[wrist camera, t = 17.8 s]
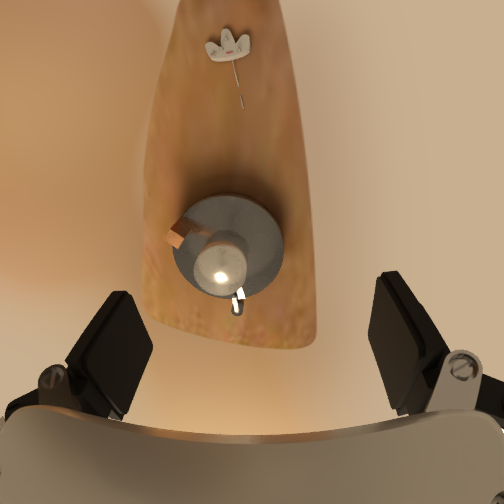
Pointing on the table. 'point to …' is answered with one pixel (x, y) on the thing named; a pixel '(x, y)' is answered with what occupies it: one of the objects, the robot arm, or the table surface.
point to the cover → (222, 263)
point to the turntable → (237, 220)
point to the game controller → (229, 49)
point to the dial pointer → (237, 306)
